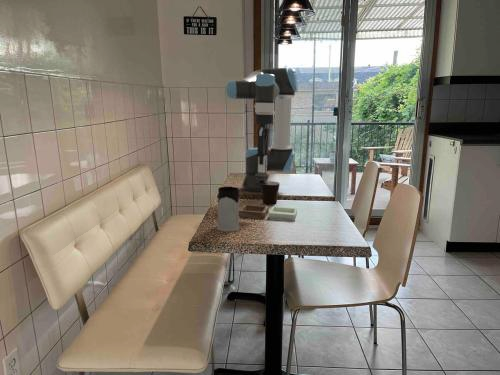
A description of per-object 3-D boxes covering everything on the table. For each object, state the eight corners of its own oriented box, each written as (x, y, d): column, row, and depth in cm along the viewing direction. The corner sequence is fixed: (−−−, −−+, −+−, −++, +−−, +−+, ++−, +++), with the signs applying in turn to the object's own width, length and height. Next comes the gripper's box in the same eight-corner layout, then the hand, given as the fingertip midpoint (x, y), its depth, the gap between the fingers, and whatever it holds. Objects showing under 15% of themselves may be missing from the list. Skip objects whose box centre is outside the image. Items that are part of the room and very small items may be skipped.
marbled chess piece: (251, 183, 158) (252, 154, 155) (261, 181, 162) (262, 153, 159) (261, 185, 154) (262, 156, 151) (271, 183, 158) (272, 155, 155)
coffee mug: (272, 206, 174) (272, 185, 172) (257, 203, 179) (257, 182, 177) (285, 202, 183) (286, 182, 181) (270, 199, 188) (271, 179, 186)
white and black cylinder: (214, 230, 138) (214, 190, 135) (222, 219, 152) (222, 183, 149) (237, 232, 137) (238, 191, 134) (243, 221, 151) (244, 184, 148)
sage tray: (272, 212, 165) (272, 206, 164) (296, 214, 163) (297, 208, 162) (268, 218, 155) (269, 212, 154) (294, 220, 153) (295, 215, 152)
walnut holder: (244, 209, 167) (244, 204, 167) (268, 211, 165) (268, 206, 165) (238, 216, 157) (238, 210, 156) (264, 218, 155) (264, 212, 154)
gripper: (259, 113, 161) (257, 168, 165) (250, 113, 145) (249, 174, 149) (276, 114, 159) (274, 169, 164) (269, 114, 143) (267, 175, 148)
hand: (262, 171), depth 157 cm, fingers closed on marbled chess piece, 4 cm apart
